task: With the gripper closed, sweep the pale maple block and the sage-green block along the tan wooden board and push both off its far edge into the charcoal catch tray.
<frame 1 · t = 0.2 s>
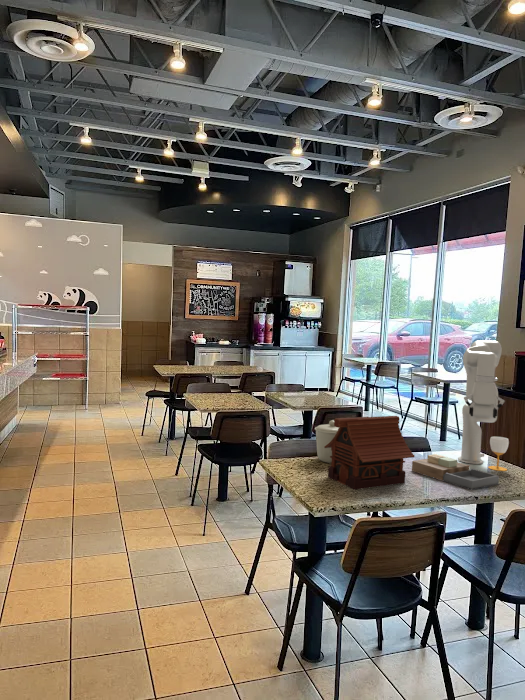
hand: (482, 416, 238), 31 cm above the table, tool pointing down, fingers open, 9 cm apart
house: (364, 480, 236), on the table
catch tray: (470, 482, 240), on the table
tan wooden board: (440, 473, 254), on the table
canister: (330, 461, 269), on the table
maple block: (436, 462, 256), point 5 cm above the table, touching tan wooden board
cup: (497, 469, 269), on the table
sage block: (447, 465, 251), point 5 cm above the table, touching tan wooden board
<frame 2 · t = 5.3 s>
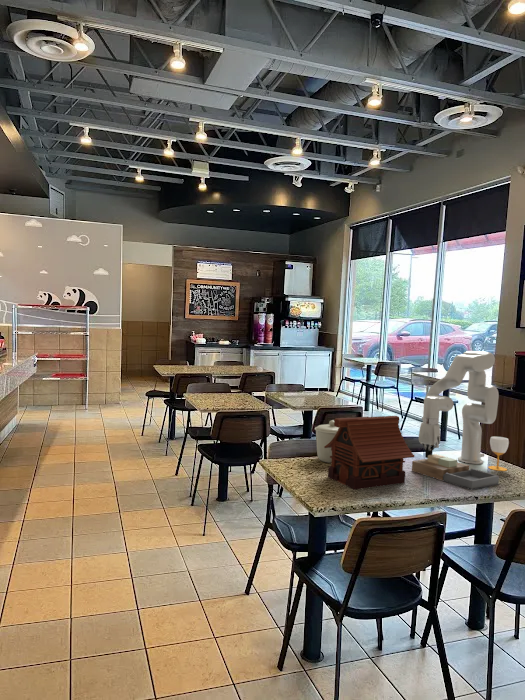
hand: (428, 457, 260), 6 cm above the table, tool pointing down, fingers closed
maple block: (436, 462, 256), point 5 cm above the table, touching gripper
everything else where it was.
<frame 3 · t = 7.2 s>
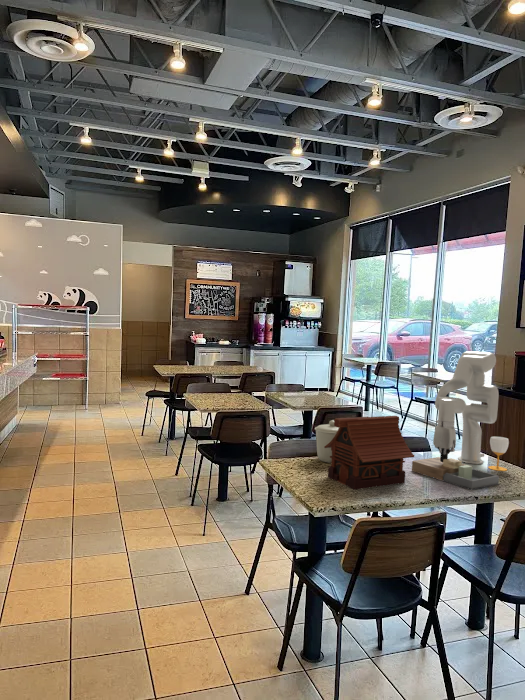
hand: (443, 461, 252), 6 cm above the table, tool pointing down, fingers closed
maple block: (452, 466, 249), point 5 cm above the table, touching gripper, tan wooden board
sage block: (462, 471, 244), point 4 cm above the table, tilted 90°, touching catch tray
everything else where it was.
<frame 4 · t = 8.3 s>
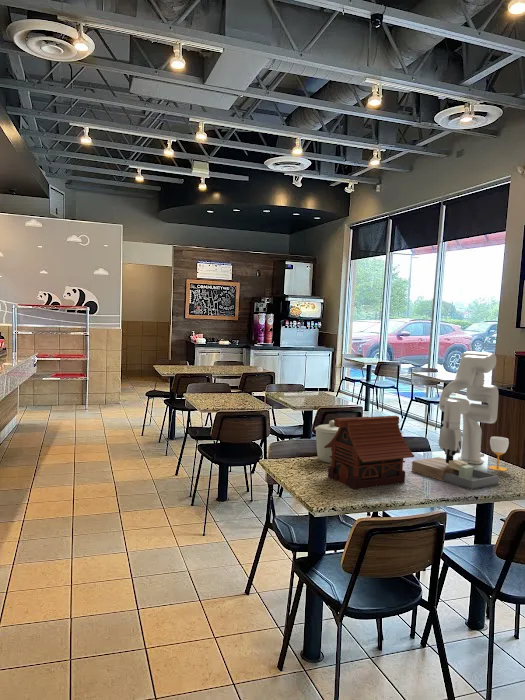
hand: (449, 463, 250), 6 cm above the table, tool pointing down, fingers closed
maple block: (457, 468, 246), point 5 cm above the table, tilted 5°, touching gripper, tan wooden board
sage block: (463, 471, 244), point 4 cm above the table, tilted 96°, touching catch tray
everything else where it was.
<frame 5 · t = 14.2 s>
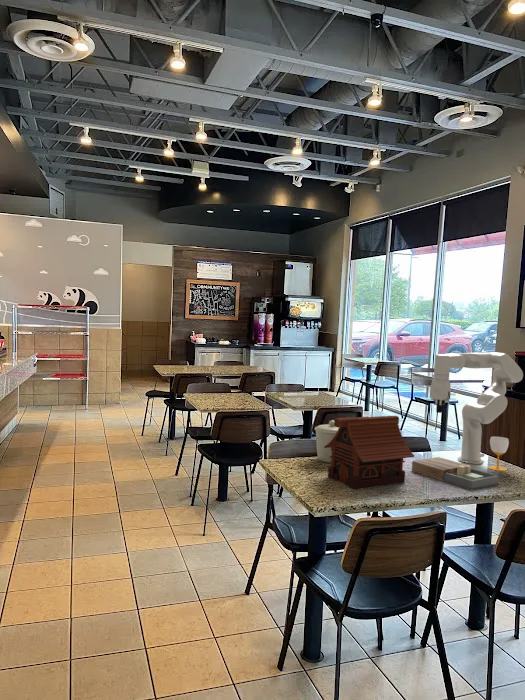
hand: (439, 412, 273), 27 cm above the table, tool pointing down, fingers closed
maple block: (460, 471, 245), point 4 cm above the table, tilted 90°, touching catch tray
sage block: (473, 475, 239), point 4 cm above the table, tilted 180°, touching catch tray
everything else where it was.
at the end: maple block inside the target area (5.6 cm from its centre), point 3.8 cm above the table; sage block inside the target area (1.2 cm from its centre), point 3.8 cm above the table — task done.
